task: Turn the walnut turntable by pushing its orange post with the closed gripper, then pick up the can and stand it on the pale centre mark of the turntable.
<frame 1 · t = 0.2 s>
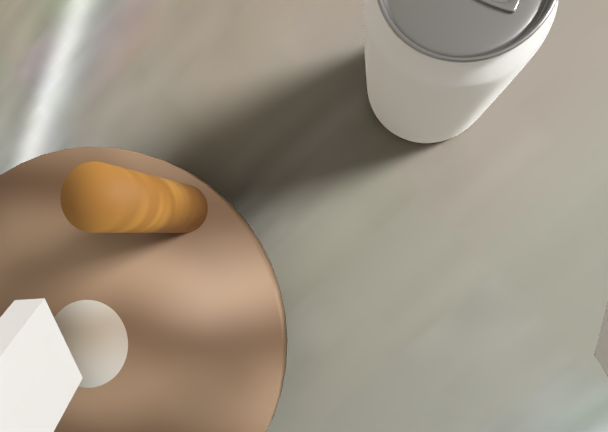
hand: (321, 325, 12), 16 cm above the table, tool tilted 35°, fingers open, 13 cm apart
can: (426, 87, 27), on the table
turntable: (45, 359, 22), point 7 cm above the table, hinge at 0.0°
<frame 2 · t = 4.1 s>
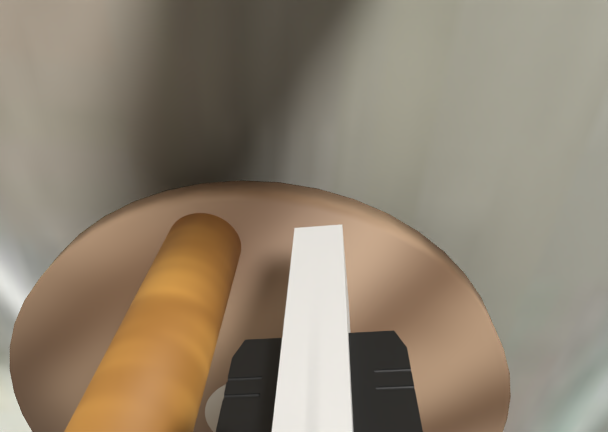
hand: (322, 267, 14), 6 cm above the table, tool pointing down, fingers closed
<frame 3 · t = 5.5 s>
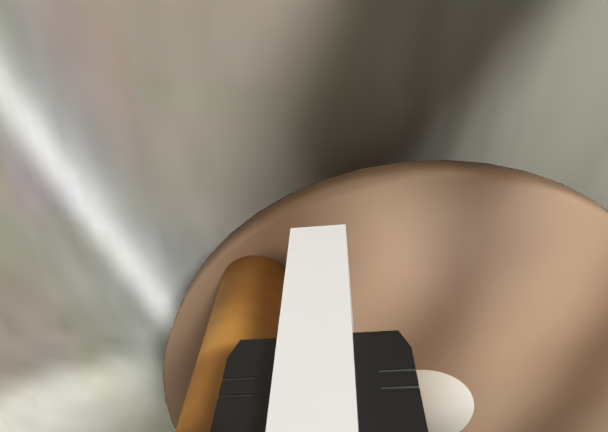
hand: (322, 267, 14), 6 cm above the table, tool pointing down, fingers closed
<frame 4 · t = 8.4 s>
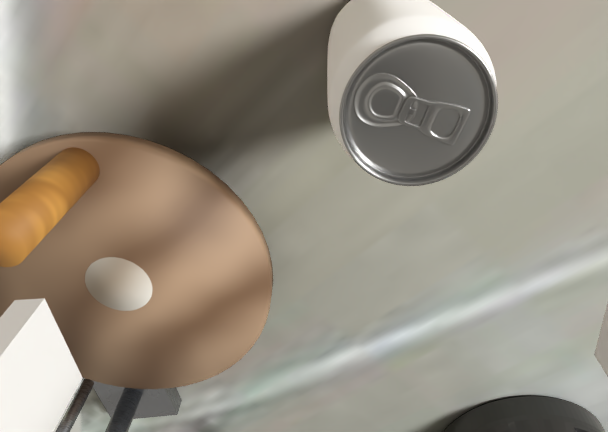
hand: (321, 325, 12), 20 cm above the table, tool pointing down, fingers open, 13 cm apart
dial indicator stand: (138, 380, 43), on the table
can: (383, 45, 28), on the table
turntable: (99, 318, 30), point 7 cm above the table, hinge at 38.9°
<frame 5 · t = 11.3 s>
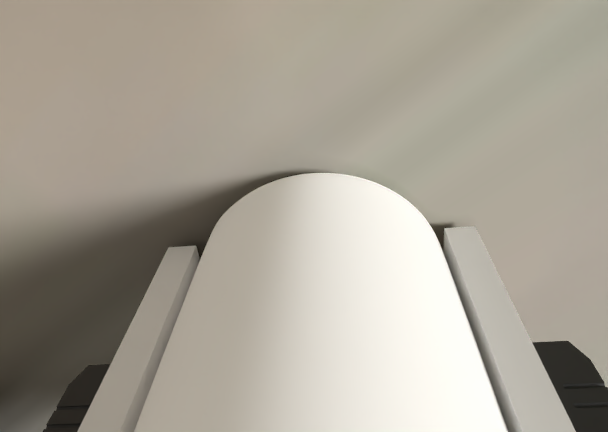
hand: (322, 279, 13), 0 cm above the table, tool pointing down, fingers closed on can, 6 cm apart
can: (322, 267, 14), on the table, touching gripper
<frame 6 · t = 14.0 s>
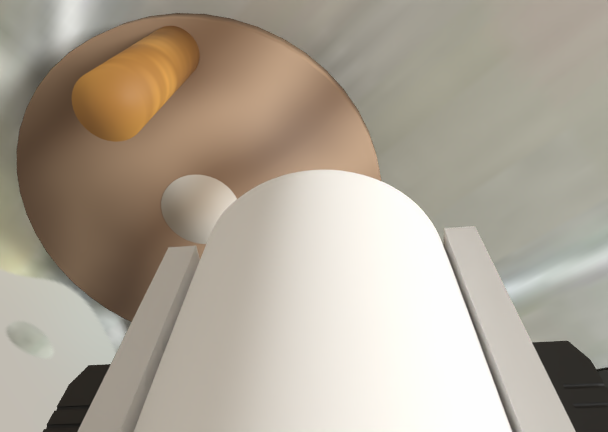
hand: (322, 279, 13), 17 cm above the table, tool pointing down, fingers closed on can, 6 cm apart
can: (323, 264, 14), point 16 cm above the table, touching gripper
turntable: (186, 242, 25), point 7 cm above the table, hinge at 38.9°
when the fingers open (6 cm above the table, at t = 17.0 s): can drops 1 cm, resting on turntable.
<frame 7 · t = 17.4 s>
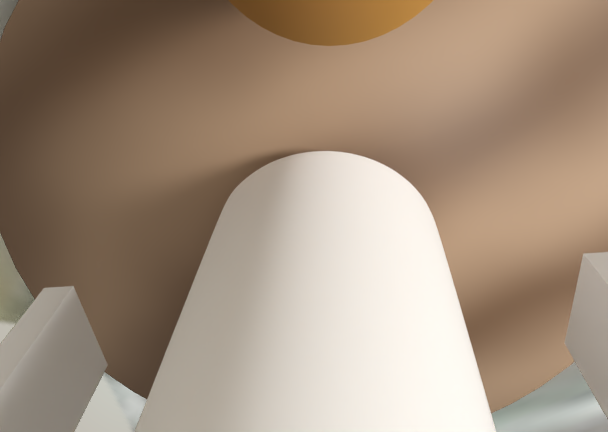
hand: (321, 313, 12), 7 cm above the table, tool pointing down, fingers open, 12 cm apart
can: (326, 238, 15), point 4 cm above the table, touching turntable
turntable: (321, 311, 12), point 7 cm above the table, hinge at 38.9°, touching can
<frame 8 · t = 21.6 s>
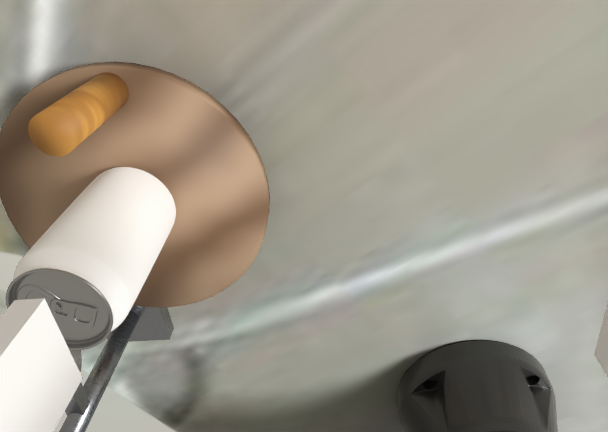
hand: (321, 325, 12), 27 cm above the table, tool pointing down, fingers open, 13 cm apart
dial indicator stand: (135, 306, 47), on the table
can: (135, 202, 37), point 4 cm above the table, touching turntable
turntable: (117, 226, 34), point 7 cm above the table, hinge at 38.9°, touching can
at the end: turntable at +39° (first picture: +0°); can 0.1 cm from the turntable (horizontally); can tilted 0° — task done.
